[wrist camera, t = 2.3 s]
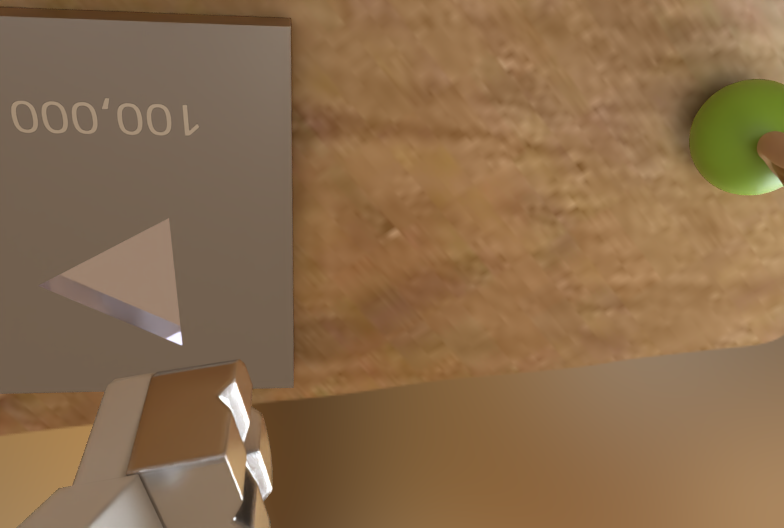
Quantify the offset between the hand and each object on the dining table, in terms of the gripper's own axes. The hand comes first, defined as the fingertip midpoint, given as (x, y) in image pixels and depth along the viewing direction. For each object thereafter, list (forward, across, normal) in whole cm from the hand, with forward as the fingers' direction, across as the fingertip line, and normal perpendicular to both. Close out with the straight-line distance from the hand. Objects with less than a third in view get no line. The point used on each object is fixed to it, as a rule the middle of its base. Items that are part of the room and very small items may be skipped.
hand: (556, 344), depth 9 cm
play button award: (+27, -14, -10) cm, 32 cm away
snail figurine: (+28, +16, -10) cm, 33 cm away
